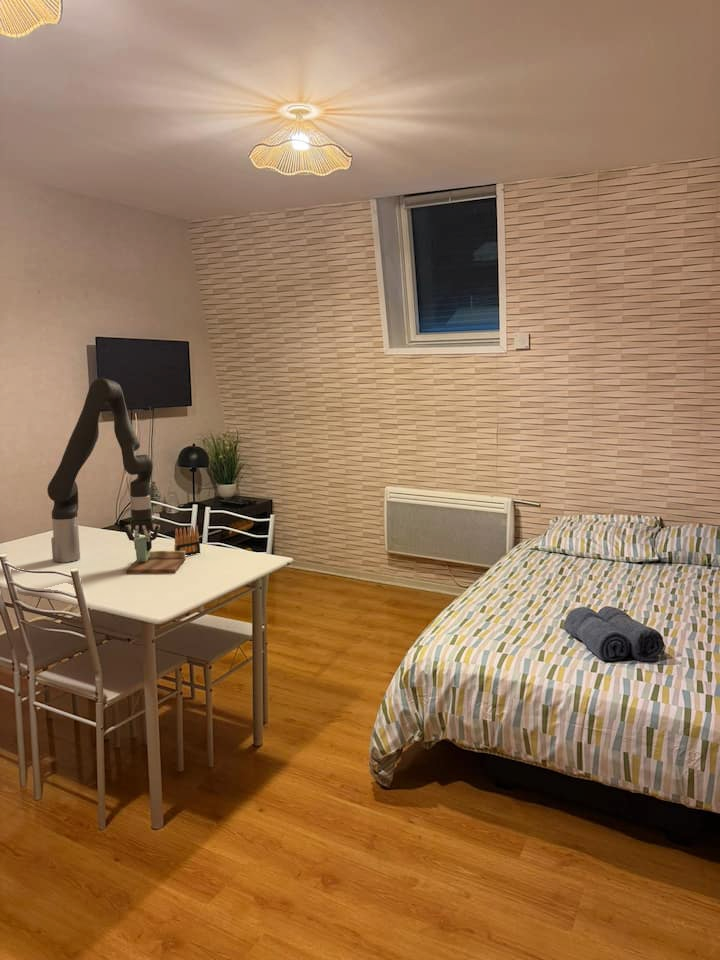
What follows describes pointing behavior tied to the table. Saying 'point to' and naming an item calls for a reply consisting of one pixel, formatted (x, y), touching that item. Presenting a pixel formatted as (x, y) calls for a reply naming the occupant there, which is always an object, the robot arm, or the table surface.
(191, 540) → the ammunition clip
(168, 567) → the walnut board
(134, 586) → the table surface
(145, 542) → the green rectangular block
